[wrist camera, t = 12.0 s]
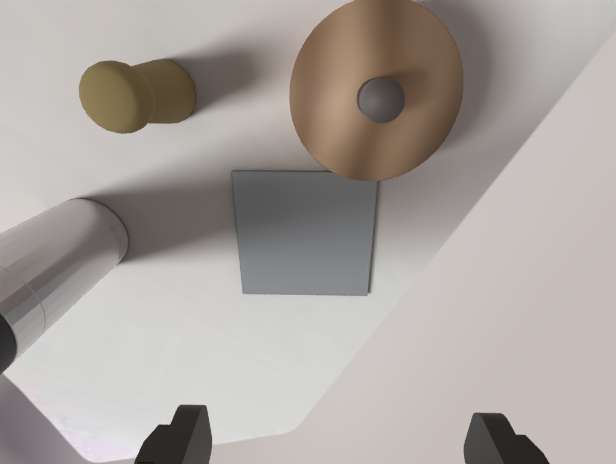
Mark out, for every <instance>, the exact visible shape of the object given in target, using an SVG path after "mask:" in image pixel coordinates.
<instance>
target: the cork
mask: <svg viewBox="0 0 616 464" xmlns="http://www.w3.org/2000/svg"><path fill="white" fill-rule="evenodd" d="M79 97H80V100H81V103H82V106H83V108H84V110H85V111H86V113H87V114H88V116H89V117H90V118H91V119H92V120H93V121H94V122H95V123H96V124H97V125H99V126H100V127H102V128H104V129H106V130H108V131H112V132H116V133H121V134H123V133H133V132H135V131H138V130H140V129H142V128H144V127H145V126H146V125H147V123H163V124H170V123H179V122H181V121H183V120H185V119H187V117H188V116H189V115H190V114H191V113H192V111H193V109H194V107H195V104H196V91H195V86H194V83H193V81H192V79H191V78H190V76H189V74H188V73H187V72H186V71H185V70H184V69H183V68H182V67H181V66H179V65H177V64H176V63H174V62H172V61H168V60H164V59H162V60H153V61H150V62H146V63H142V64H139V65H135V66H129V65H128V64H125V63H121V62H117V61H102V62H98V63H96V64H95V65H93V66H91V67H89V68H88V69H87V70H86V71H85V73H84V74H83V75H82V78H81V81H80V85H79Z"/></svg>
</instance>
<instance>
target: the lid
mask: <svg viewBox="0 0 616 464" xmlns="http://www.w3.org/2000/svg"><path fill="white" fill-rule="evenodd" d="M462 92H463V70H462V63H461V58H460V55H459V51H458V48H457V46H456V44H455V42H454V39H453V37H452V36H451V34H450V32H449V31H448V29H447V28H446V26H445V25H444V24H443V23H442V22H441V21H440V19H439V18H438V17H437V16H435V15H434V14H433V13H432V12H431V11H429V10H428V9H426V8H425V7H423V6H421V5H420V4H418V3H416V2H413V1H411V0H355V1H353V2H350V3H348V4H345V5H344V6H342V7H340V8H338V9H337V10H335V11H333V12H332V13H331V14H330V15H328V16H327V17H326V18H325V19H323V20H322V21H321V22H320V23H319V24H318V25H317V27H316V28H315V29H314V30H313V31H312V33H311V34H310V35H309V37H308V38H307V39H306V41H305V43H304V44H303V46H302V48H301V50H300V52H299V54H298V57H297V59H296V61H295V65H294V68H293V72H292V76H291V82H290V97H289V99H290V110H291V115H292V120H293V123H294V126H295V129H296V132H297V134H298V136H299V138H300V140H301V142H302V143H303V145H304V146H305V148H306V149H307V151H308V152H309V153H310V154H311V155H312V157H313V158H314V159H315V160H316V161H318V162H319V163H320V164H321V165H322V166H324V167H325V168H327V169H328V170H330V171H331V172H333V173H335V174H338V175H340V176H343V177H346V178H349V179H353V180H358V181H381V180H386V179H391V178H394V177H397V176H400V175H402V174H404V173H407V172H409V171H411V170H412V169H414V168H416V167H417V166H419V165H420V164H421V163H423V162H424V161H425V160H427V159H428V158H429V157H430V156H431V155H432V154H433V153H434V152H435V151H436V150H437V149H438V148H439V146H440V145H441V144H442V143H443V141H444V140H445V138H446V137H447V135H448V134H449V132H450V130H451V128H452V126H453V124H454V122H455V120H456V117H457V114H458V111H459V108H460V104H461V99H462Z"/></svg>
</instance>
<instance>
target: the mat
mask: <svg viewBox="0 0 616 464" xmlns="http://www.w3.org/2000/svg"><path fill="white" fill-rule="evenodd" d="M231 173H232V184H233V195H234V205H235V216H236V227H237V238H238V249H239V259H240V270H241V281H242V292H243V294H281V295H342V296H367V294H368V283H369V272H370V260H371V249H372V238H373V227H374V216H375V205H376V193H377V182H378V181H358V180H353V179H349V178H346V177H343V176H340V175H338V174H335V173H333V172H317V171H232V172H231Z"/></svg>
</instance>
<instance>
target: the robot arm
mask: <svg viewBox="0 0 616 464" xmlns="http://www.w3.org/2000/svg"><path fill="white" fill-rule="evenodd" d="M127 250H128V235H127V232H126V229H125V227H124V226H123V224H122V222H121V221H120V219H119V218H118V217H117V216H116V215H115V214H114V213H113V212H112V211H110V210H109V209H108V208H106V207H105V206H103V205H101V204H99V203H97V202H94V201H91V200H86V199H73V200H68V201H66V202H64V203H62V204H60V205H58V206H56V207H54V208H52V209H50V210H48V211H45V212H43V213H41V214H39V215H37V216H35V217H33V218H31V219H29V220H27V221H25V222H23V223H21V224H19V225H17V226H15V227H13V228H11V229H9V230H7V231H5V232H3V233H1V234H0V374H2V373H3V372H4V371H5V370H6V369H7V368H8V367H9V366H10V365H11V364H12V363H13V362H14V361H15V360H16V359H17V358H18V357H19V356H20V355H21V354H22V353H24V352H25V351H26V350H27V349H28V348H29V347H30V346H31V345H32V344H33V343H34V342H35V341H36V340H37V339H38V338H39V337H40V336H41V335H42V334H43V333H45V332H46V331H47V330H48V329H49V328H50V327H51V326H52V325H53V324H54V323H55V322H56V321H57V320H58V319H59V318H60V317H61V316H63V315H64V314H65V313H66V312H67V311H68V310H69V309H70V308H71V307H72V306H73V305H74V304H75V303H76V302H77V301H78V300H80V299H81V298H82V297H83V296H84V295H85V294H86V293H87V292H88V291H89V290H90V289H91V288H92V287H93V286H94V285H95V284H96V283H98V282H99V281H100V280H101V279H102V278H103V277H104V276H105V275H106V274H107V273H108V272H109V271H110V270H111V269H112V268H114V267H115V266H116V265H117V264H118V263H119V262H120V261H121V260H122V259H123V257H124V256H125V255H126V252H127ZM211 449H212V435H211V429H210V423H209V417H208V412H207V407H206V405H180V406H179V407H178V408H177V410H176V412H175V415H174V417H173V420H172V422H171V424H170V425H158V426H157V427H156V429H155V430H154V431H153V432H152V433H151V434H150V435H149V436H148V438H147V439H146V440H145V441H144V442H143V445H142V447H141V449H140V451H139V453H138V455H137V457H136V460H135V462H134V464H209V460H210V455H211ZM464 458H465V463H466V464H549V462H548V460H547V459H546V457H545V455H544V454H543V452H541V450H540V449H539V448H538V447H537V446H535V445H534V443H533V442H532V441H531V440H530V439H529V438H528V437H527V436H526V435H516V434H515V432H514V430H513V428H512V427H511V425H510V423H509V421H508V420H507V418H506V417H505V416H504V415H503V414H501V413H474V414H473V416H472V419H471V423H470V426H469V430H468V433H467V436H466V440H465V444H464Z"/></svg>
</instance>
